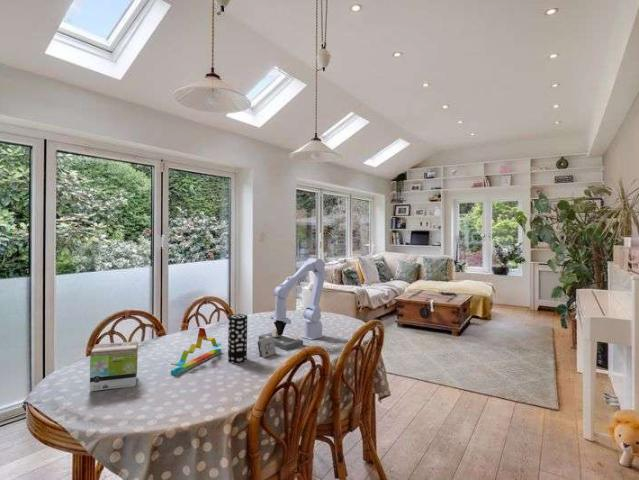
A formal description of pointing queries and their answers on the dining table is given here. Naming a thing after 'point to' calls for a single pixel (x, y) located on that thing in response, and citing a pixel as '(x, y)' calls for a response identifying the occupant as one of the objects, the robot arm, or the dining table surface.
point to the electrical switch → (266, 347)
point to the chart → (199, 359)
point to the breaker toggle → (275, 333)
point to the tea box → (113, 365)
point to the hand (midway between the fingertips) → (280, 335)
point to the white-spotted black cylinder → (237, 338)
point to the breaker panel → (284, 341)
